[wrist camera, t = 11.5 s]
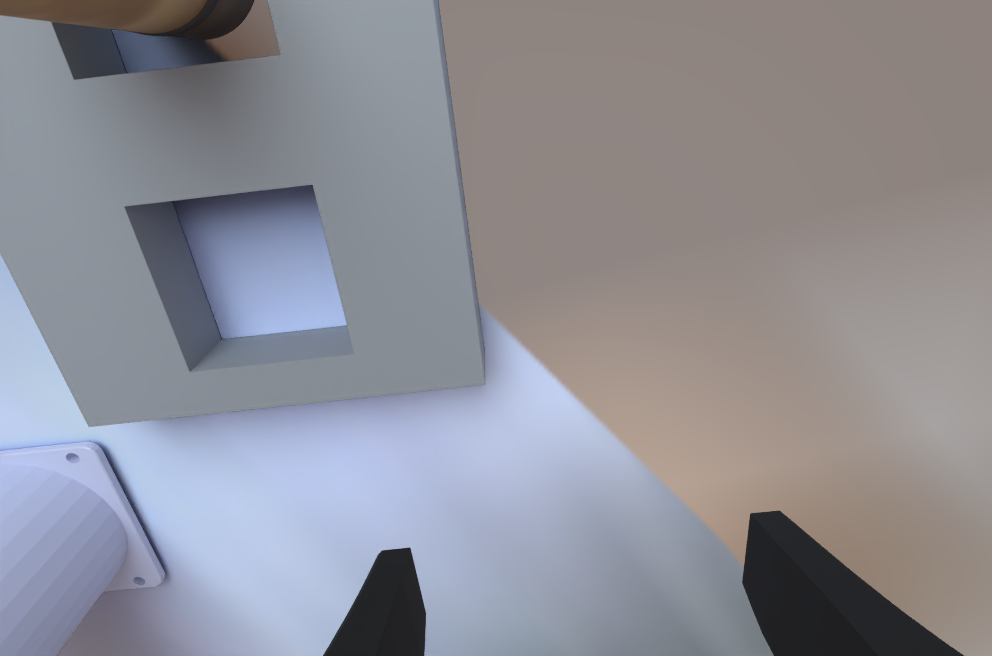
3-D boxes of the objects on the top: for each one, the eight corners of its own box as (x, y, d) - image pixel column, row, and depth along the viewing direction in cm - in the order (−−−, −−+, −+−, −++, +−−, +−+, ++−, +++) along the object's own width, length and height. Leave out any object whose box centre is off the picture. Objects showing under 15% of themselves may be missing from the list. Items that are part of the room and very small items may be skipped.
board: (130, 389, 21) (89, 426, 19) (-146, -215, 14) (-268, -272, 12) (484, 351, 21) (485, 384, 19) (400, -290, 14) (384, -362, 11)
